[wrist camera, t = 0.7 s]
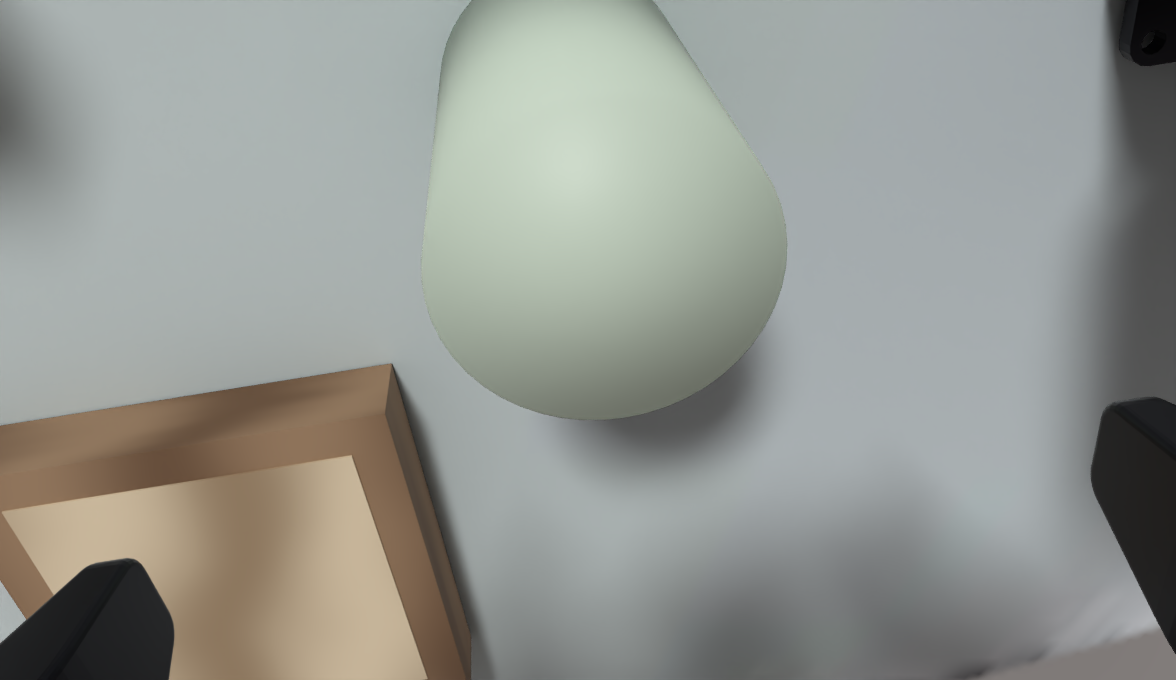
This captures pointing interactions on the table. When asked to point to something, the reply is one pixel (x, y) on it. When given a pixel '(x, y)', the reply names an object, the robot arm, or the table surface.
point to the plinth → (248, 527)
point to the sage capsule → (592, 211)
